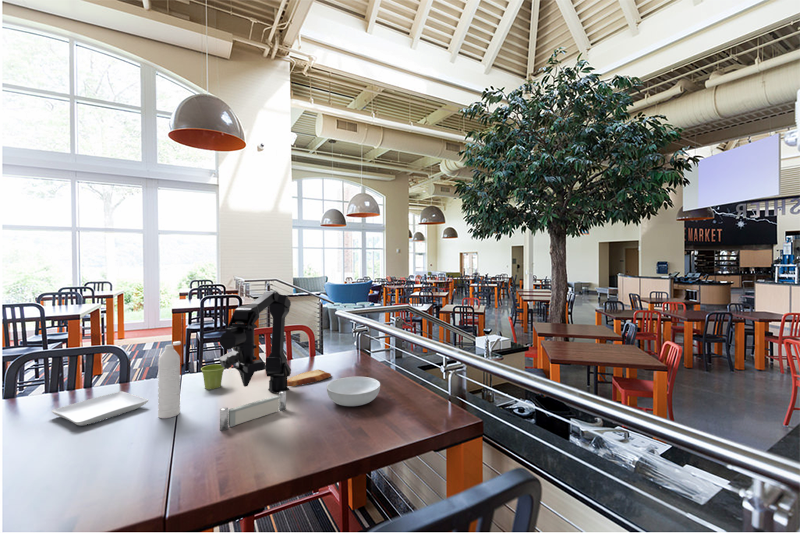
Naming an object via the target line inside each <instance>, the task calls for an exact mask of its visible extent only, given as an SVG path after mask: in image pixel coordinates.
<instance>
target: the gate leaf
mask: <svg viewBox="0 0 800 533" xmlns="http://www.w3.org/2000/svg"><path fill="white" fill-rule="evenodd" d="M277 412H280V411H279V395H273V396H270V397H266V398H263V399H260V400H256V401H253V402H250V403H246V404H243V405H239V406H235V407H233V408H232V407H231V408H228V427H230V428H231V427H235V426H236V425H240V424H242V423H246V422H249V421H251V420H255V419H258V418H262V417H264V416H267V415H271V414H273V413H277Z"/></svg>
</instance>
